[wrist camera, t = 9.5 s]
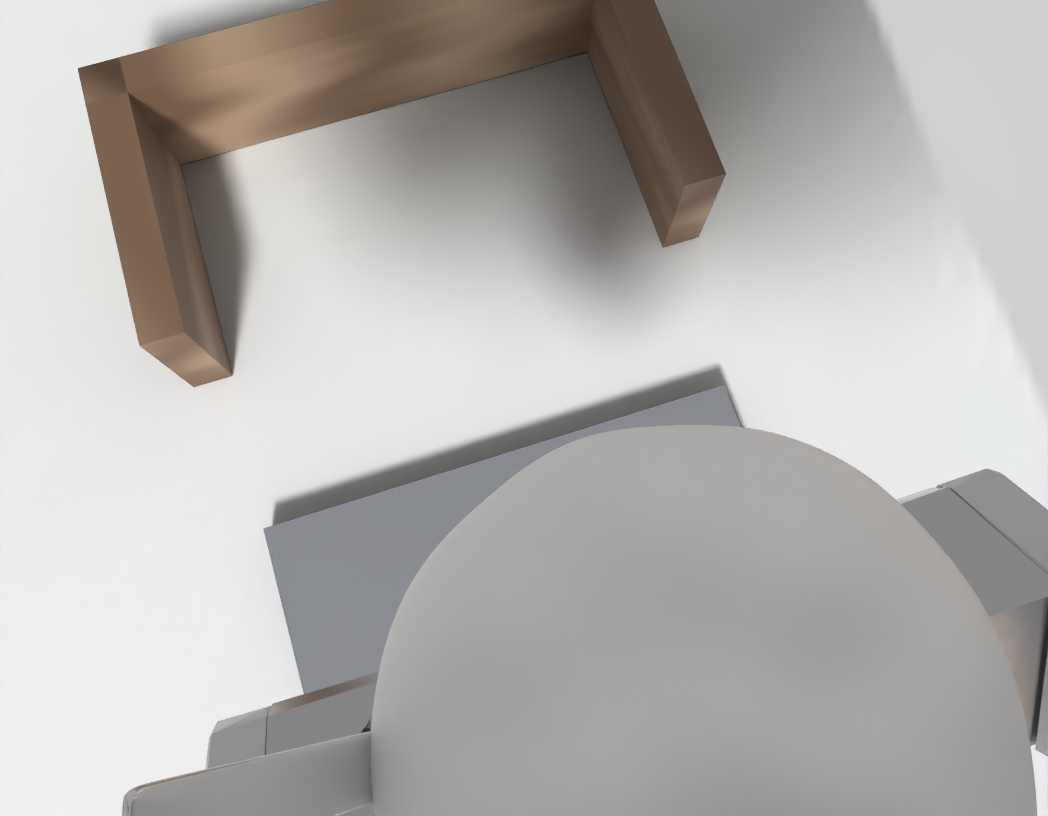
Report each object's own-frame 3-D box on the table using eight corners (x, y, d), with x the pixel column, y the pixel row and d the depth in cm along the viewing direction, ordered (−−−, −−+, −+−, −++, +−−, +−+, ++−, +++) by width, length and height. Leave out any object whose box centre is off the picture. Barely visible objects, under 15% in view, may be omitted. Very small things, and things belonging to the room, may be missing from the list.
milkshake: (427, 541, 15) (137, 391, 5) (755, 519, 14) (1124, 319, 5) (438, 841, 14) (97, 1393, 4) (792, 823, 13) (1360, 1360, 4)
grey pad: (379, 971, 23) (374, 982, 23) (271, 531, 26) (263, 528, 25) (875, 795, 24) (887, 800, 24) (718, 391, 27) (724, 384, 26)
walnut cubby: (193, 387, 27) (139, 345, 23) (136, 143, 29) (77, 68, 25) (698, 236, 29) (725, 173, 25) (609, 13, 31) (622, -78, 27)
